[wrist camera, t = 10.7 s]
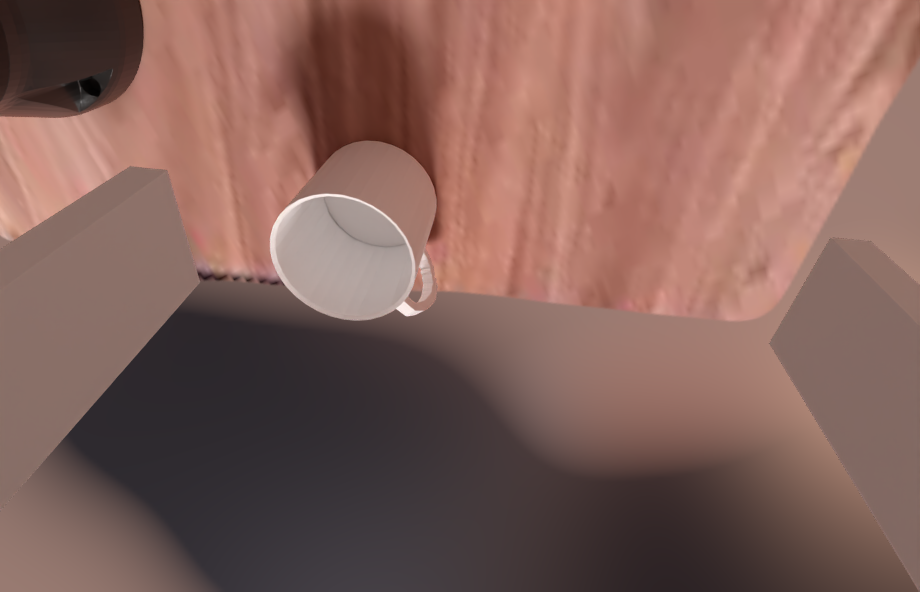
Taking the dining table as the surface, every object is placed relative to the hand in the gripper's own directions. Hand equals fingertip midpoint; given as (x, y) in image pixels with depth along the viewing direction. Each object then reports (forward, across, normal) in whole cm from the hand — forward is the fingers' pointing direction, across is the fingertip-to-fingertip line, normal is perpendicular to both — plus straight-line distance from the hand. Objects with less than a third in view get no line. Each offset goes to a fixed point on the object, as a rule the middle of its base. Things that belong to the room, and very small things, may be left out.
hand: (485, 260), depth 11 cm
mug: (+26, -8, -13) cm, 30 cm away
